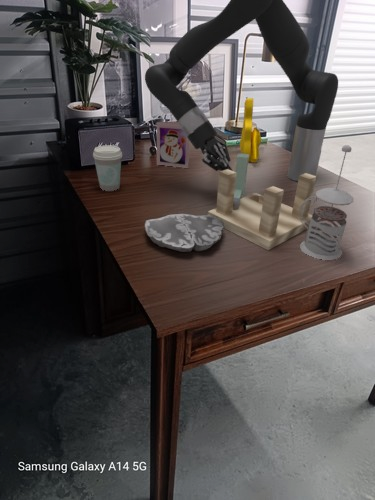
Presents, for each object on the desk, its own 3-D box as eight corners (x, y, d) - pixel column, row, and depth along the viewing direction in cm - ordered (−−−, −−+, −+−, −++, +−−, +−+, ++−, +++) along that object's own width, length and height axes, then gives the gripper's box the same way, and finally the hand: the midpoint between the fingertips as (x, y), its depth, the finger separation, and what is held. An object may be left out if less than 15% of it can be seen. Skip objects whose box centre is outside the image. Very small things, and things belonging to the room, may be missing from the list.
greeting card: (156, 166, 137) (156, 122, 129) (161, 159, 143) (162, 117, 136) (187, 169, 135) (189, 126, 127) (192, 163, 142) (194, 120, 134)
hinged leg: (239, 209, 103) (244, 169, 97) (227, 208, 103) (232, 168, 97) (244, 191, 113) (249, 154, 108) (234, 190, 114) (238, 153, 108)
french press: (336, 265, 87) (368, 156, 74) (286, 249, 92) (308, 144, 79) (346, 246, 94) (377, 144, 81) (300, 233, 99) (321, 134, 86)
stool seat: (254, 200, 115) (260, 156, 108) (313, 225, 103) (325, 176, 96) (207, 219, 103) (211, 171, 96) (268, 250, 91) (277, 197, 84)
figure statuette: (260, 168, 139) (269, 104, 128) (238, 167, 140) (245, 103, 128) (257, 153, 154) (265, 95, 143) (237, 152, 155) (244, 93, 143)
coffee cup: (90, 190, 117) (86, 150, 111) (105, 180, 124) (102, 143, 117) (114, 195, 114) (112, 155, 108) (129, 185, 121) (127, 147, 115)
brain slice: (154, 263, 85) (154, 252, 83) (140, 227, 99) (140, 217, 97) (237, 253, 90) (239, 242, 88) (213, 220, 104) (213, 210, 102)
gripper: (198, 130, 116) (231, 178, 119) (177, 141, 106) (214, 193, 108) (216, 115, 112) (250, 165, 114) (196, 124, 102) (234, 179, 104)
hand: (232, 178), depth 111 cm, fingers closed
